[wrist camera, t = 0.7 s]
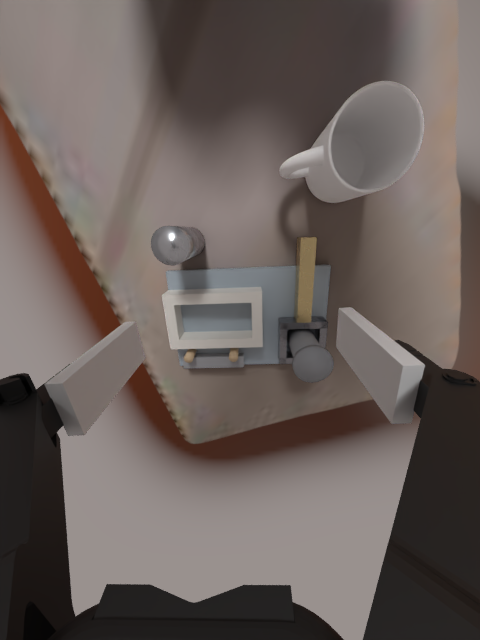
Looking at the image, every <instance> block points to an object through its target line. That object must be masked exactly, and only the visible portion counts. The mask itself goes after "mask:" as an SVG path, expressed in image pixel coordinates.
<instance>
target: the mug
mask: <svg viewBox="0 0 480 640" xmlns="http://www.w3.org/2000/svg"><path fill="white" fill-rule="evenodd" d="M423 134H424V116H423V111H422V108H421V105H420V103H419V101H418V99H417V97H416V96H415V95H414V93H413V92H412V91H411V90H410V89H409V88H407V87H406V86H404V85H402V84H400V83H398V82H393V81H378V82H374V83H371V84H369V85H366V86H364V87H362V88H361V89H359V90H358V91H356V92H355V93H354V94H352V95H351V96H350V97H349V98H348V99H347V100H346V102H345V103H344V104H343V105H342V107H341V108H340V109H339V110H338V112H337V113H336V114H335V116H334V117H333V118H332V120H331V121H330V122H329V124H328V125H327V126H326V128H325V129H324V130H323V132H322V133H321V134H320V136H319V137H318V138H317V140H316V141H315V142H314V144H313V146H312V147H311V149H309V150H306V151H303V152H301V153H298V154H296V155H294V156H292V157H290V158H289V159H287V160H286V161H285V162H284V163H283V164H282V165H281V167H280V171H279V173H280V175H281V176H282V177H283V178H285V179H295V178H302V177H305V179H306V183H307V185H308V188H309V190H310V191H311V192H312V194H313V195H314V196H315V197H317V198H318V199H320V200H321V201H324V202H328V203H339V202H343V201H347V200H350V199H354V198H357V197H360V196H364V195H367V194H370V193H374V192H377V191H380V190H383V189H385V188H387V187H389V186H391V185H392V184H394V183H395V182H396V181H398V180H399V179H400V178H401V177H402V176H403V175H404V174H405V173H406V172H407V170H408V169H409V168H410V167H411V165H412V163H413V162H414V160H415V158H416V156H417V154H418V152H419V150H420V147H421V143H422V140H423Z"/></svg>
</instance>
